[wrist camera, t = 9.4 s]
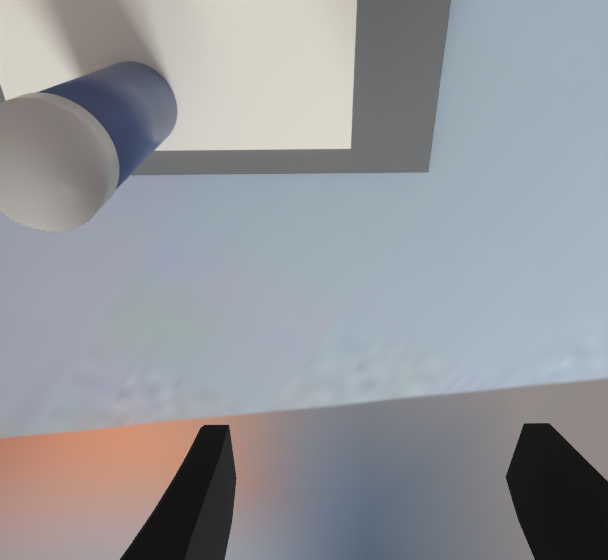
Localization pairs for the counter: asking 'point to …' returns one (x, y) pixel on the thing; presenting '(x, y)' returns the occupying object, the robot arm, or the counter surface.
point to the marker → (79, 143)
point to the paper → (202, 63)
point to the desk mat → (357, 103)
